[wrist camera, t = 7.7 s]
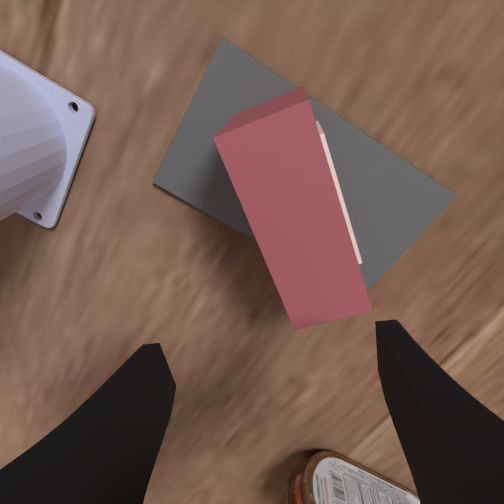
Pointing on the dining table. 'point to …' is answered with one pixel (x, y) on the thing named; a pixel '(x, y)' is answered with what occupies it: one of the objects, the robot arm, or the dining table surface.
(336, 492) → the tin
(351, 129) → the mat
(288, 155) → the box
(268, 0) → the dining table surface
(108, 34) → the dining table surface
